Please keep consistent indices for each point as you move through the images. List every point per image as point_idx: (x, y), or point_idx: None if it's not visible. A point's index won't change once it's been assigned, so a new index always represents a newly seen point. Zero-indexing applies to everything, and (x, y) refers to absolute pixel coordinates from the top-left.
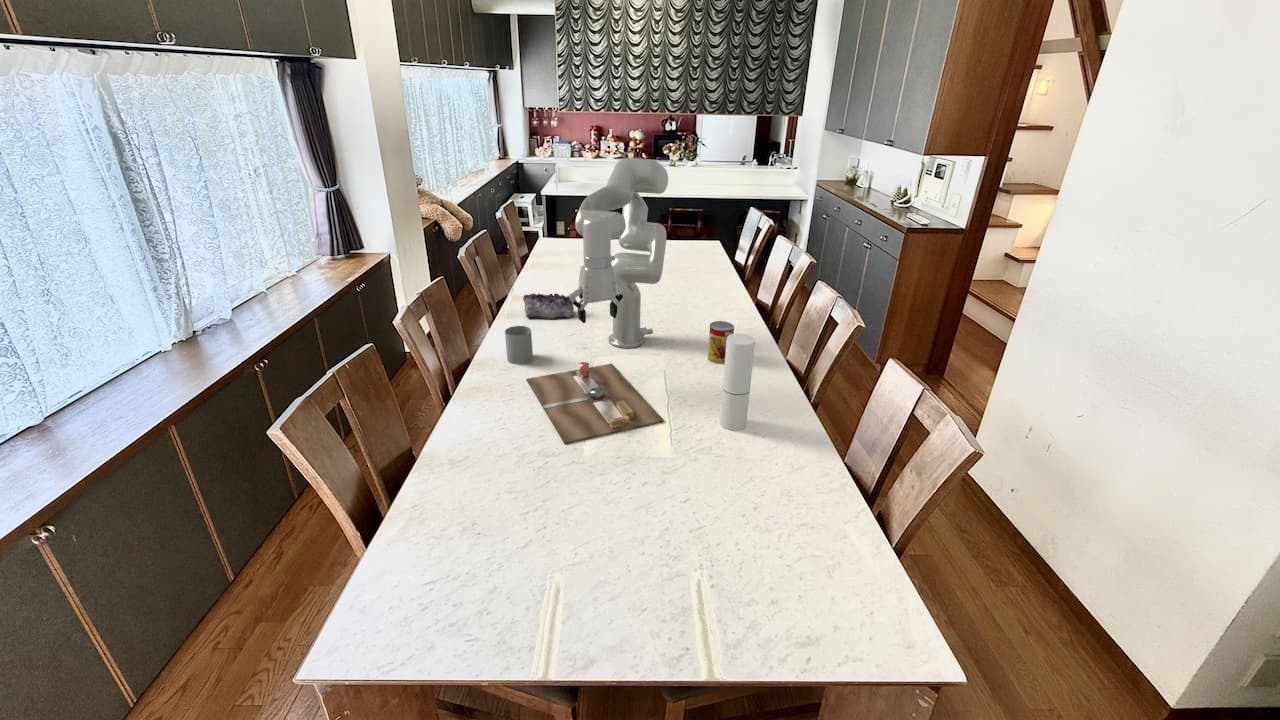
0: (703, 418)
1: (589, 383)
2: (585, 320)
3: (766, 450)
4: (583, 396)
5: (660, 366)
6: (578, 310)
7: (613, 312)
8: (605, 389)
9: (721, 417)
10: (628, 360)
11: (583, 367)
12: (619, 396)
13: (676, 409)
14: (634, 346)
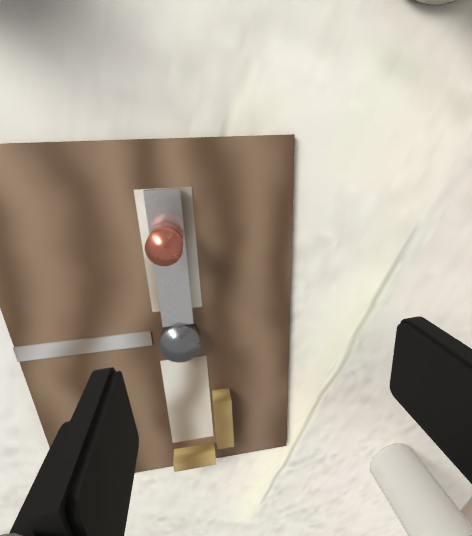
0: (358, 441)
1: (170, 290)
2: (133, 460)
3: (384, 519)
4: (142, 324)
5: (420, 200)
6: (22, 529)
7: (424, 421)
8: (214, 302)
9: (380, 479)
10: (359, 117)
11: (157, 263)
12: (237, 345)
13: (331, 407)
14: (439, 2)
